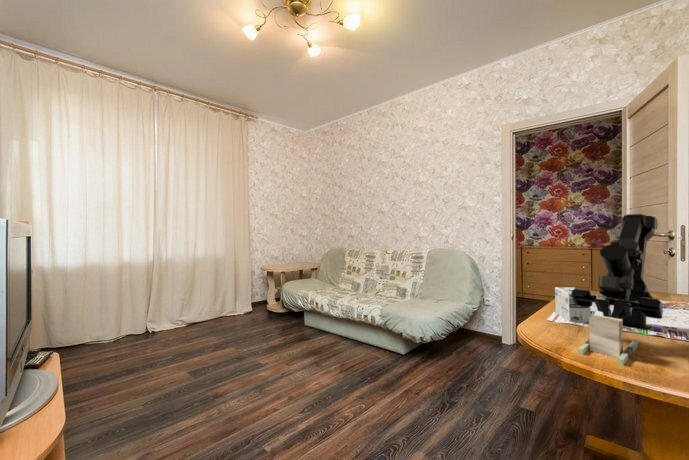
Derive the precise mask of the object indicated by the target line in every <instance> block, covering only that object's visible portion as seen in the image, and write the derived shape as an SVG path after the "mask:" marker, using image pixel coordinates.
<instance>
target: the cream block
mask: <svg viewBox="0 0 689 460" xmlns="http://www.w3.org/2000/svg"><path fill="white" fill-rule="evenodd" d="M588 323H589V324H588V325H589V329H588V330H589V339H590V349H589V352H593V353H597V354H601V355H606V356H609V357H613V358H617V359H618V358H619V357H620V355H621V354H622V353H623V352H624V326H623V319H617V318H611V317H606V316H603V315H600V314H593V315H592V314H591V317H590V318H589V322H588Z"/></svg>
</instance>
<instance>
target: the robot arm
mask: <svg viewBox="0 0 689 460" xmlns="http://www.w3.org/2000/svg"><path fill="white" fill-rule="evenodd" d="M658 225H659V224H658V219H657V218H656V217H655V216H653V215H646V214H642V213H634V214H633V213H631V214H629V213H627V214H626V215H623V217H621V230H620V234H619V237H618V239H617V240H614V241H611V242H610V244H608V245H605V246H603V247H602V248H601V249H600V250H599V254H600V257H601V261H602V264H603V266H604V269H605V270H606V275H599V277H598V284H597V287H598V288H599V290H598V292H599V294H596V295H593V294H591V292H590V290H589V289H584V288H576V287H574V288H575V289H574V290H572V293H571V296H572V299H573V301H574V303H575V305H577V306H582V307H590V308H591V307H592V306H593V303H594V304H595V306H596V309H597V311H598V312H599V313H600V312H601V313H602V316H606V317H611V318H617V319H623V327H627V328H628V327H629V328H631V329H632V328H634V329H637V330H648V329H653V327H652V325H649V324H647V318H652V319H657V320H661V319H663V316H664V312H663V311H664V310H663V305H662V302H661V300H660V299H659V298H655V297H653V296H652V295H651V291H649V288H648V285H647V284H646V283H645V281H644V271H645V262H646V251H647V242H648V241H649V240H650V239H651V238H653V237H654V235H655V232H656V231H655V230H657V229H658ZM611 306H613V310H611Z"/></svg>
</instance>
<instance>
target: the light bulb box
mask: <svg viewBox="0 0 689 460" xmlns="http://www.w3.org/2000/svg"><path fill="white" fill-rule="evenodd" d="M575 288H576V287H574V286H573V287H566V286H565V287H561V286H558V287H557V286H555V287H554V298H555V300H554V301H555V315H557V316H560V317H561V318H563V319H564V320H566V321H567V322H569V323H589V318H590V317H591V316H592V311H591V306H590V307H582V306H577V305H575V303H574V301H573V299H572V296H571V293H572V290H574V289H575Z"/></svg>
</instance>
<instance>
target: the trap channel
mask: <svg viewBox="0 0 689 460" xmlns="http://www.w3.org/2000/svg"><path fill="white" fill-rule="evenodd" d="M638 347H639V340H638V339H632V340H631V342H630V343H629V344H628V346H627V347H626V348H625V349H624V350H623V353H622V354H621V355H620V357H619V358H617V365H619V366H624V365H625V364H626V363H627V361H628V360H629V359H630V357H631V356H632V355H633V353H634V352H635V351H636V349H637V348H638ZM587 351H590V338H589V339H588V340H586V341H585V342H584V343H583V344H581V345H580V346H579V347H578V348H577V354H578V355H582V356H583V355H584V354H585V353H587Z"/></svg>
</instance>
